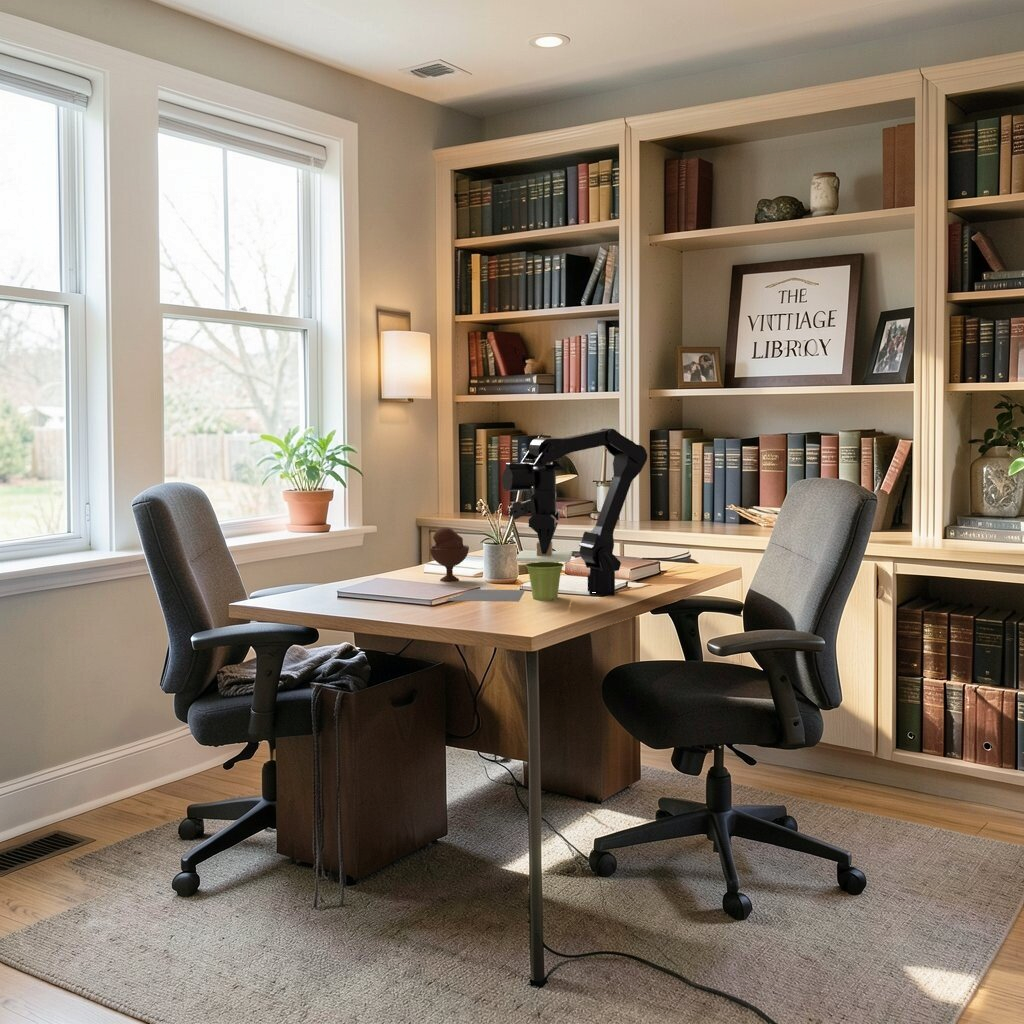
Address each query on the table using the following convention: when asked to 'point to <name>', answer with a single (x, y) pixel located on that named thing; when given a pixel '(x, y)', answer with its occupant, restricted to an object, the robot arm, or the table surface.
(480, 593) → the gray flat panel
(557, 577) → the plant pot
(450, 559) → the ice cream bowl
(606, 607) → the table surface
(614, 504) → the robot arm
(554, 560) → the sage lid
